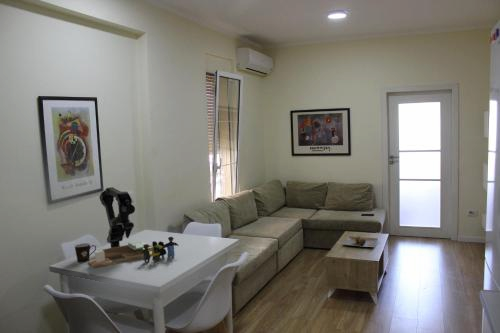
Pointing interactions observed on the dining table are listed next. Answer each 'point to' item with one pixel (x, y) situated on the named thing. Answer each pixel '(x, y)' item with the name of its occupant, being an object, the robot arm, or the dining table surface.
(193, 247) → the dining table surface
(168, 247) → the doll family
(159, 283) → the dining table surface
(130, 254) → the puzzle board
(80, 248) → the coffee mug
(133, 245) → the sage cover
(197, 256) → the dining table surface
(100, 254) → the cream block
